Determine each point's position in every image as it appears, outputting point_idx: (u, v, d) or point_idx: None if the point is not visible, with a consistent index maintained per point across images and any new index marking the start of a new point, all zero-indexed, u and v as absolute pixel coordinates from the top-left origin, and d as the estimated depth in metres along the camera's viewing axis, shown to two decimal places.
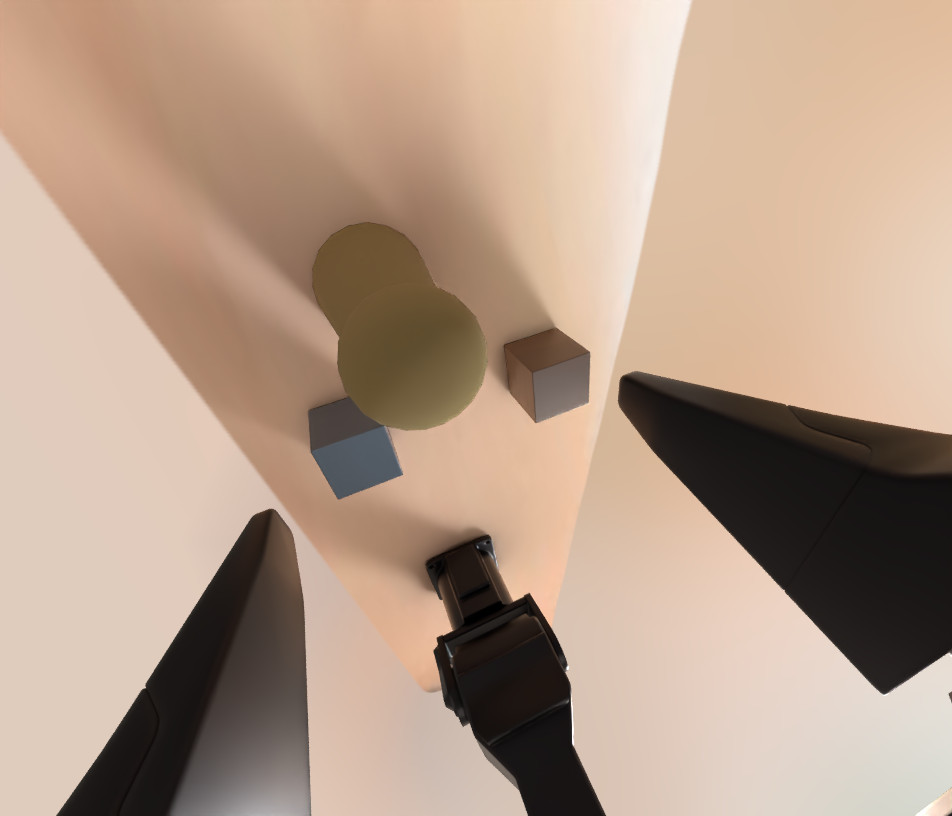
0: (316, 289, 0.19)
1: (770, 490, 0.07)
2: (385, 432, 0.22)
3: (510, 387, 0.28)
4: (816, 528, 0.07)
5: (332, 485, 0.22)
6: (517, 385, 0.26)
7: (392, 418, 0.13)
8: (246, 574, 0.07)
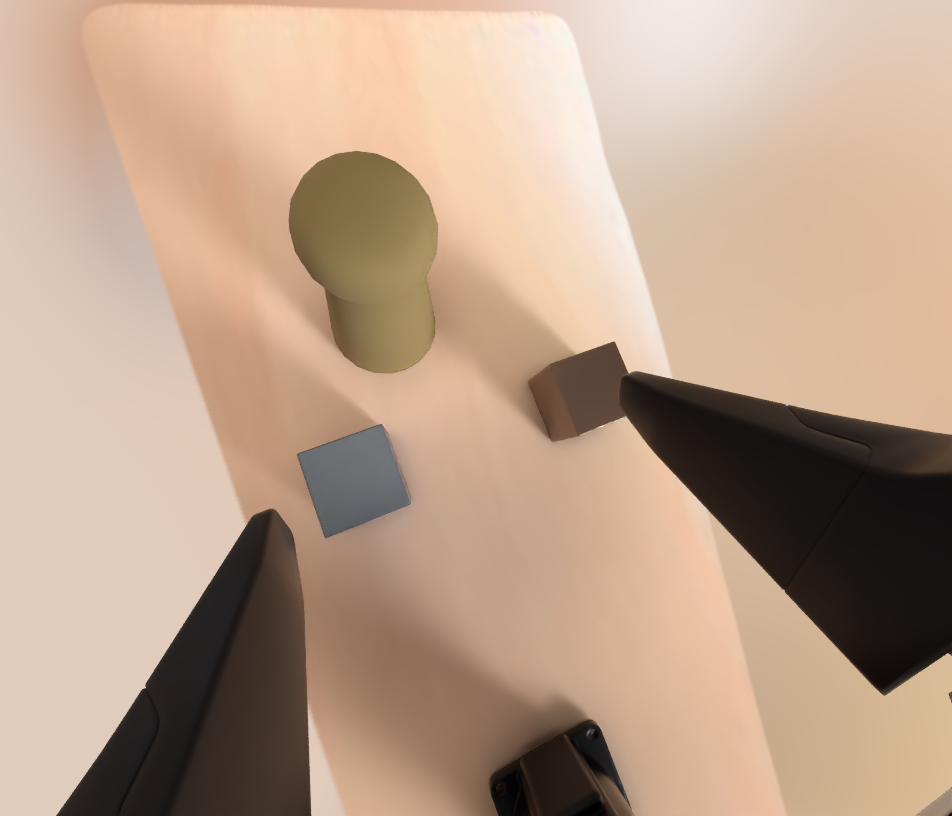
0: None
1: (770, 490, 0.07)
2: (383, 434, 0.19)
3: (549, 431, 0.24)
4: (816, 528, 0.07)
5: (318, 510, 0.18)
6: (550, 413, 0.23)
7: (328, 243, 0.13)
8: (246, 574, 0.07)
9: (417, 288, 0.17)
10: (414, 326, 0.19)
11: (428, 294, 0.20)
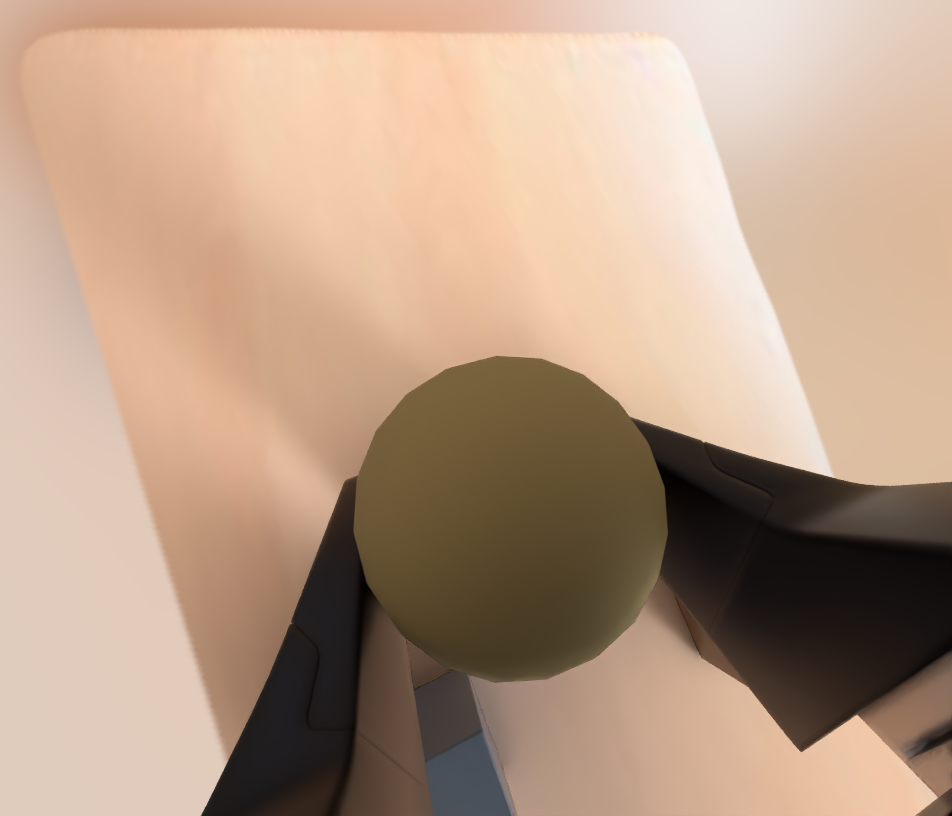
0: None
1: (685, 532, 0.07)
2: (486, 748, 0.11)
3: (699, 645, 0.16)
4: (727, 576, 0.07)
5: None
6: None
7: (464, 631, 0.05)
8: None
9: None
10: None
11: None
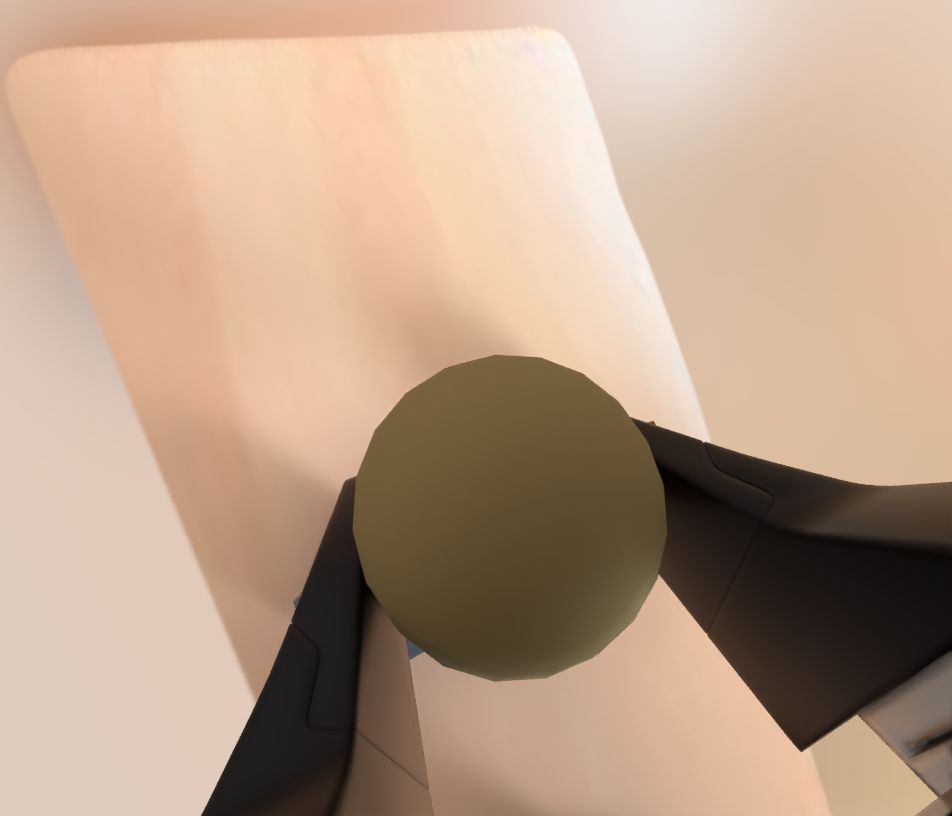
0: None
1: (684, 533, 0.07)
2: None
3: None
4: (727, 576, 0.07)
5: None
6: None
7: (462, 629, 0.05)
8: None
9: None
10: None
11: None
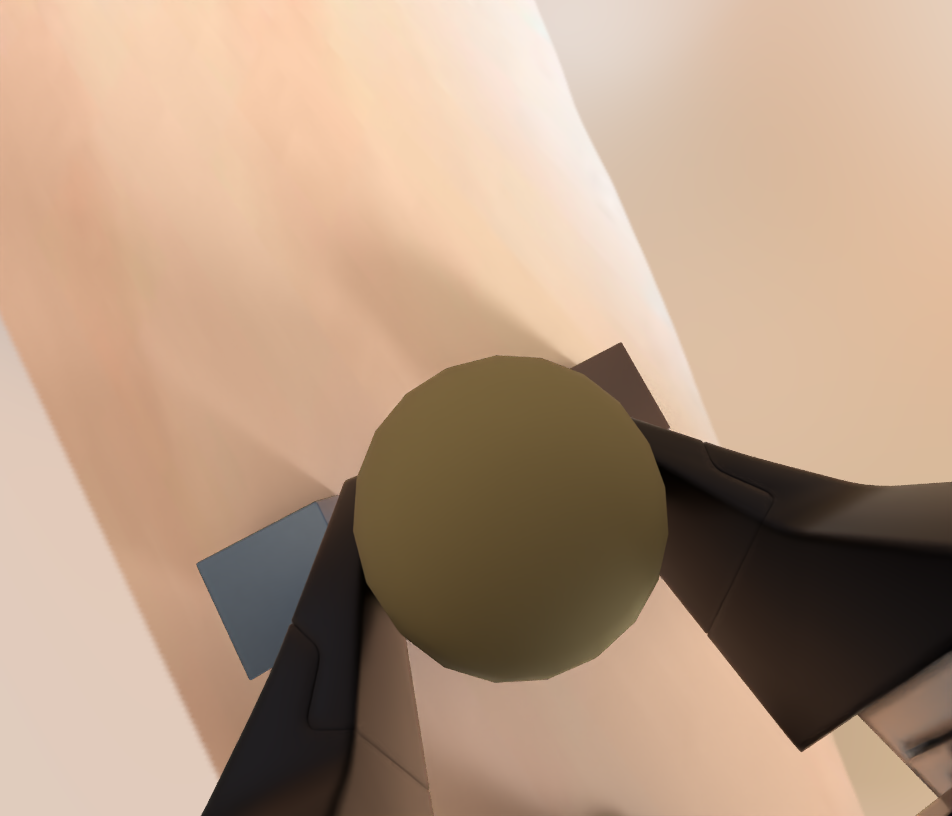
0: None
1: (684, 532, 0.07)
2: (320, 515, 0.13)
3: None
4: (727, 576, 0.07)
5: (236, 642, 0.12)
6: None
7: (463, 631, 0.05)
8: None
9: None
10: None
11: None
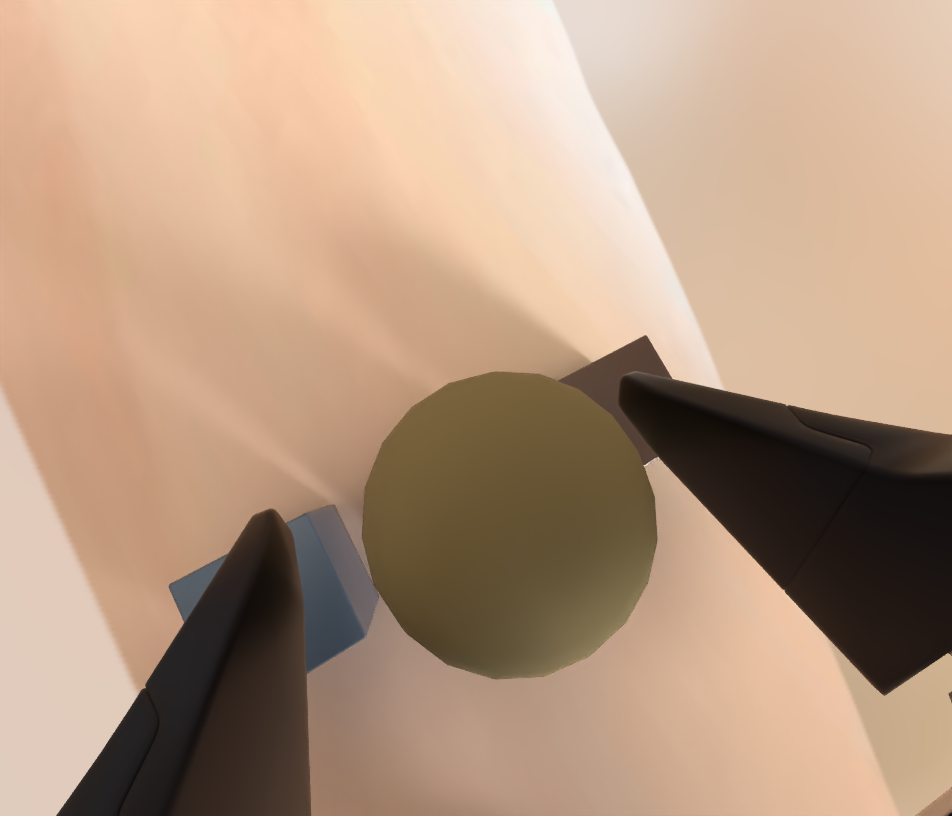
0: None
1: (770, 490, 0.07)
2: (311, 528, 0.12)
3: None
4: (816, 528, 0.07)
5: None
6: None
7: (466, 630, 0.05)
8: (246, 574, 0.07)
9: None
10: None
11: None
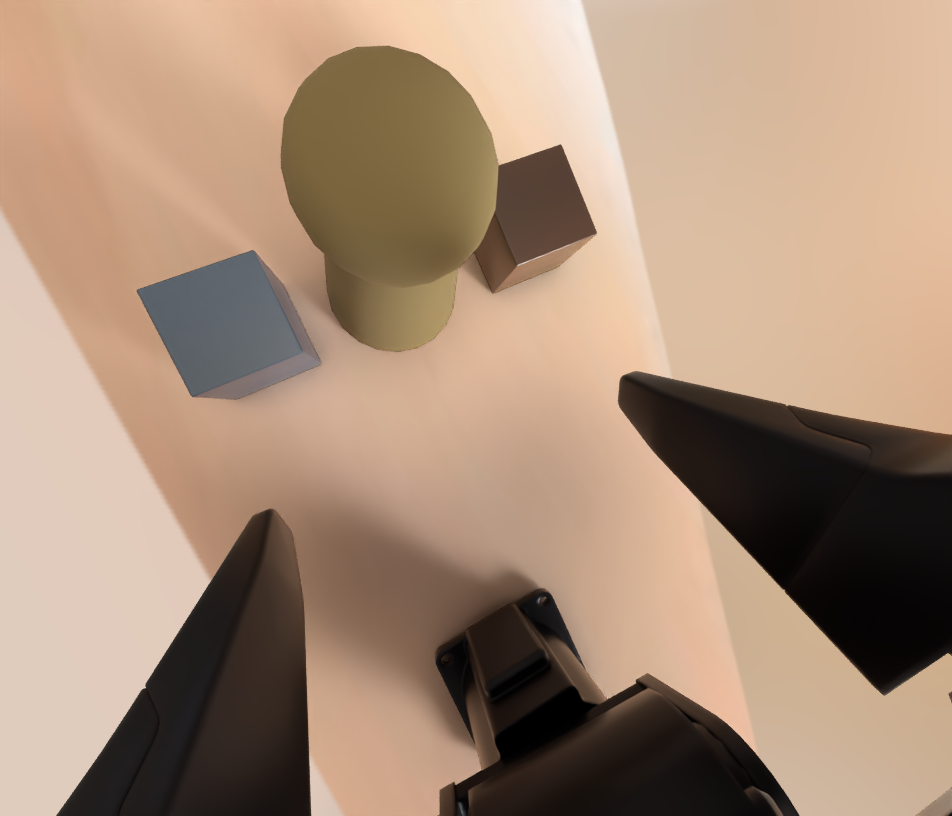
0: None
1: (770, 490, 0.07)
2: (257, 263, 0.14)
3: (488, 280, 0.20)
4: (816, 528, 0.07)
5: (177, 362, 0.13)
6: (486, 251, 0.18)
7: (344, 199, 0.08)
8: (246, 574, 0.07)
9: None
10: (438, 304, 0.15)
11: None
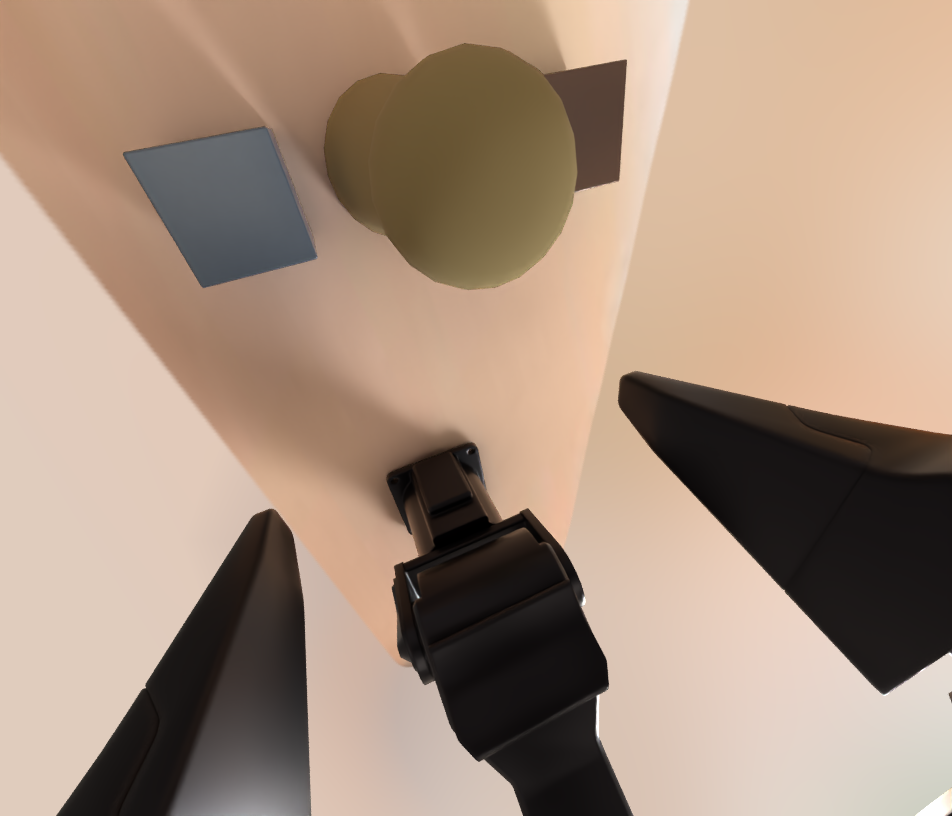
0: (330, 145, 0.15)
1: (770, 490, 0.07)
2: (271, 145, 0.12)
3: None
4: (816, 528, 0.07)
5: (184, 251, 0.13)
6: None
7: (441, 245, 0.09)
8: (246, 574, 0.07)
9: None
10: None
11: None
